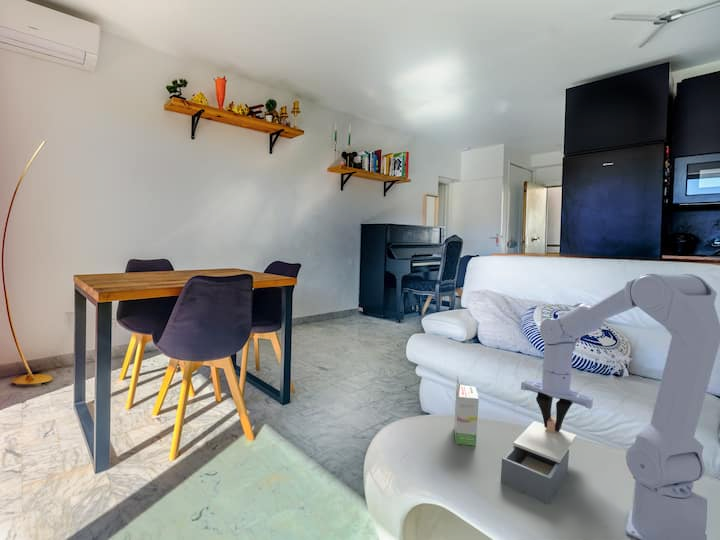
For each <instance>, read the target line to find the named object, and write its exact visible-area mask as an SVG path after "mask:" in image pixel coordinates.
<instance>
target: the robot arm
mask: <svg viewBox="0 0 720 540" xmlns="http://www.w3.org/2000/svg"><path fill="white" fill-rule="evenodd" d="M717 294H718V293H717V291H716V290H715V289H714V288H712V286H711V285H710V284H709V283H708V282H707V281H706V280H705V279H703V278H702V277H701V276H698V275H696V274H692V273H685V274H684V273H683V274H666V273H665V274H658V273H651V272H649V273H643V274H641V275H639V276H638V277H637V278H632V279H630V280H628V281H626V284H625V285H624V286H622V287H619V288H618V289H617V290H615V291H613V292H612V293H611V294H608V295H607V296H606V297H604V298H602V299H601V300H598V301H597V302H596V303H594V304H591V303H583V302H578V303H575V304H573V307H574V308H573V309H570V310H568V311H567V312H561V313H559V316H557V318H553V317H546V318H545V319H544V320H542V322H541V323H540V324H539V335H540V338H541V339H542V341H543V342H544V350H543V362H542V374H541V382H538V381H537V382H536V381H532V380H527V379H523V380H522V381H521V382H520V383H521V384H520V390H521V391H529V392H532V393H537V396H536V397H535V399H536V400H535V401H536V403H537V404H538V407H539V409H540V412H541V415H542V418H543V424H544V427H545V428H547V421H548V420H549V419H550V417H552V405H553V404H552V403H553V399H558V401H557V402H556V403H555V410H556V413H555V414H556V415H555V418H556V424H555V431H557V432H559V431H560V430H562V429H561V428H562V424H563V422H564V419H565V417H566V415H567V413H568V411H569V410H570V408H571V407H572V405H573V404H576V405H579V406H583V407H585V408H586V409H589V410H591V409H592V408H593V405H594V404H593V403H594V397H591V396H588V395H586V394H584V393H583V394H582V393H580V392H576V391H574V390H571V381H572V367H573V366H572V365H573V356H574V355H573V353H574V352H575V350H576V346H577V343H579V341H580V340H581V338H582V337H584V336H586V335H588V334H590V333H593V332H595V331H597V330H600V329H601V328H603V326H604V322H605V320H607V319H609V318H612V317H614V316H617V315H619V314H621V313H622V314H623V313H625V312H627V311H629V310H632V309H634V308H639V309H640V310H641V311H642V312H644V313H645V314H647V315H648V316H649V317H650V318H652V319H653V320H655V321H656V322H658V324H660V325H662V326H663V327H664V328H665V329H666V330H667V332H668V333H669V334H670V335H671V339H670V342H669V343H670V344H669V347H668V352H667V355H666V358H665V359H666V360H665V364H664V368H663V371H662V376H661V379H660V383H659V388H658V392H657V396H656V398H655V400H656V401H655V404H654V408H653V411H652V416H651V420H650V423H649V424H648V425H647V426H646V427H644V428H643V429H642V430H641V431H640V432H638V434H637V435H636V438H635V442H634V443H633V444H632V445H630V447H628V449H627V450H626V452H625V460H626V461H625V462H626V465H627V468H628V470H629V472H630V473H631V475H632V478H633V480H634V484H633V485H634V486H633V498H632V507H630V511H629V513H628V514H629V516H628V519H627V523H626V527H625V533H626V534H628V535H629V536H632V538H633V537H634V538H636V539H638V540H707V539H708V535H707V534H706V531H707V519H708V499H707V498H706V497H704V496H702V495H699V494H698V493H696V492H695V491H692V490H693V489H694V482H697V481H699V480H701V479H702V478H703V477H704V475H705V471H706V468H705V463H704V459H703V450H704V445H703V444H702V443H701V442H700V441H699V440H698V439H697V438H696V437H695V434H696V431H697V428H698V427H697V426H698V424H699V419H700V416H701V412H702V409H703V406H704V402H705V399H706V395H707V390H708V388H709V387H708V386H709V383H710V380H711V377H712V373H713V369H714V367H715V366H714V365H715V361H716V358H717V355H718V351H719V347H720V320H719V317H718V316H719V315H718V313H717V308H716V305H715V301H716V298H717Z"/></svg>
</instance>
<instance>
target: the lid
mask: <svg viewBox="0 0 720 540" xmlns="http://www.w3.org/2000/svg"><path fill="white" fill-rule="evenodd" d="M555 424H556V417H555V416H551V417H550V419H549V420H548V421H547V428H545V427H544V423H542V422H538V421H535V420H534V421H533V422H531V423H530V424H529V426H528V427H527V428H526V429H525V430H524V431H523V432H522V433H521V434H520V435H519V436H518V437H517V438H516V439H515V440H514V441H513V445H512V446H516V447H519V448H522V449H524V450H527V451H529V452H532V453H535V454H537V455H540V456H542V457H545V458H548V459H550V460H553V461H555V462H558V463H560V462H561V460H562V459H563V457H564V455H565V454H566V452H567V451H568V449H569V450H570V448H571V446H572V444H573V443H574V442H575V439H577V434H575V433H571V432H570V431H566V430H563V429H560V431H559V432H557V431H555Z"/></svg>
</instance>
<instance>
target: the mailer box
mask: <svg viewBox="0 0 720 540" xmlns="http://www.w3.org/2000/svg"><path fill="white" fill-rule="evenodd" d="M569 456H570V448H569V449H568V451H567V452H566V454H565V455H564V457H563V459H562V460H561V462H560V463H558V462H555V461H553V460H550V459H548V458H545V457H542V456H540V455H537V454H535V453H532V452H529V451H527V450H524V449H522V448H519V447H516V446H514V445H512V447H511V448H510V449H509V451H507V452H506V454H505V455H504V456H502V457H501V468H500V470H501V471H500V483H501V484H503V485H506V486H508V487H510V488H513V489H515V490H517V491H519V492H521V493H523V494H525V495H528V496H530V497H531V498H534V499H536V500H538V501H541V502H543V503H545V504H547V505H549V504H550V503H551V501H552V499H553V498H554V496H555V494H556V492H557V490H558V488H559V487H560V485H561V484H562V482H563V480H564V478H565V477H566V475H567V473H568V469H569Z"/></svg>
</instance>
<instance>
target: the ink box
mask: <svg viewBox="0 0 720 540" xmlns="http://www.w3.org/2000/svg"><path fill="white" fill-rule="evenodd" d="M456 377H457V378H456V389H455V391H456V392H455V406H454V420H453V421H454V423H453V430H454V438H455V444H457V445H465V446H470V445H471V446H472V447H476V446H477V431H478V416H479V415H478V414H479V403H480V401H479V400H480V399H479V394H478V391H477V387H476V386H473V385H466V384H465V385H464V384H461V380H460V377H459V374H457V376H456Z"/></svg>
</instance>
